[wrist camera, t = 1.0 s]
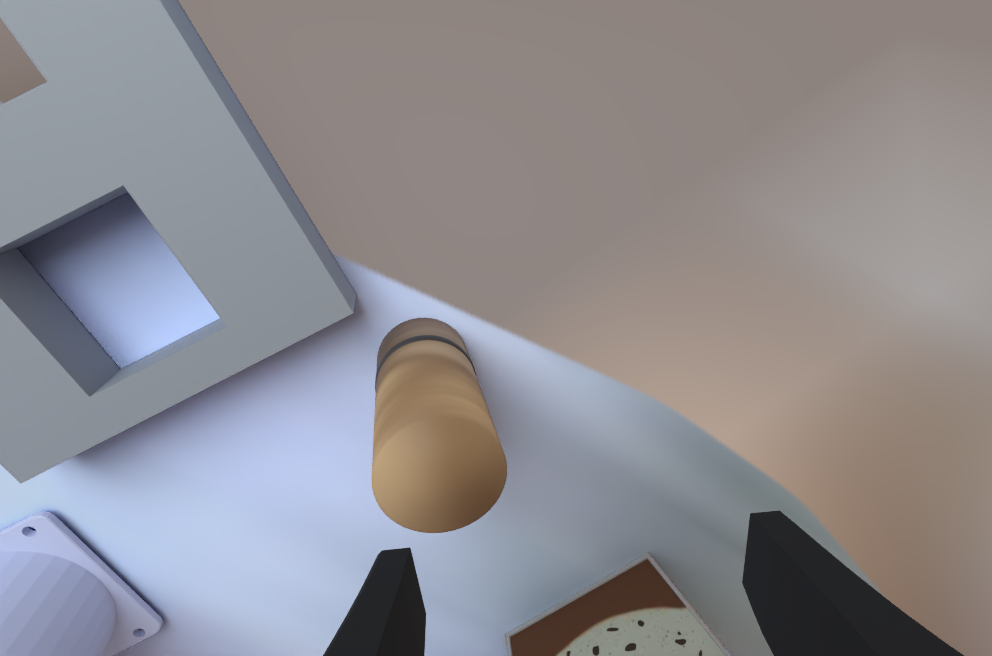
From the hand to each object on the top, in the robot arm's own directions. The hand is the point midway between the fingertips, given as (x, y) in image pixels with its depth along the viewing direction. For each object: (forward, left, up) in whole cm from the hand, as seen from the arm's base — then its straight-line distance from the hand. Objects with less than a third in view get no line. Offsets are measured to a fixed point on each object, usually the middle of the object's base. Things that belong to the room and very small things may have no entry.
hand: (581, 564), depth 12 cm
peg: (-3, 0, -14) cm, 14 cm away
